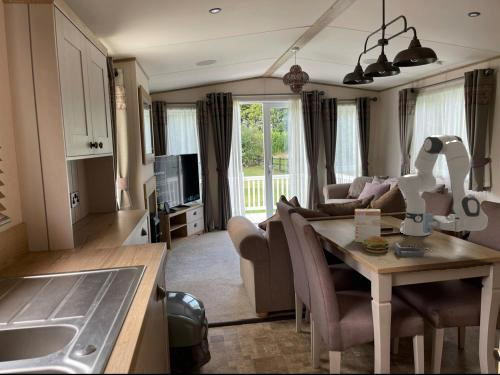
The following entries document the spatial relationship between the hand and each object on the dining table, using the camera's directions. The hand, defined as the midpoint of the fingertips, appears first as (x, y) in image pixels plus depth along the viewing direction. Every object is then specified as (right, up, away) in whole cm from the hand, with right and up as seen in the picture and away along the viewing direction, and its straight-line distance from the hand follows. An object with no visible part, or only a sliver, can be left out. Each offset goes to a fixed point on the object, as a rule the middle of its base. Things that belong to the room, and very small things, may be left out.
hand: (426, 222), depth 208 cm
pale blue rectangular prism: (+1, -5, 0) cm, 6 cm away
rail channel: (-8, -17, 0) cm, 19 cm away
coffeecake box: (-23, -14, +30) cm, 40 cm away
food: (-24, -17, +9) cm, 31 cm away
